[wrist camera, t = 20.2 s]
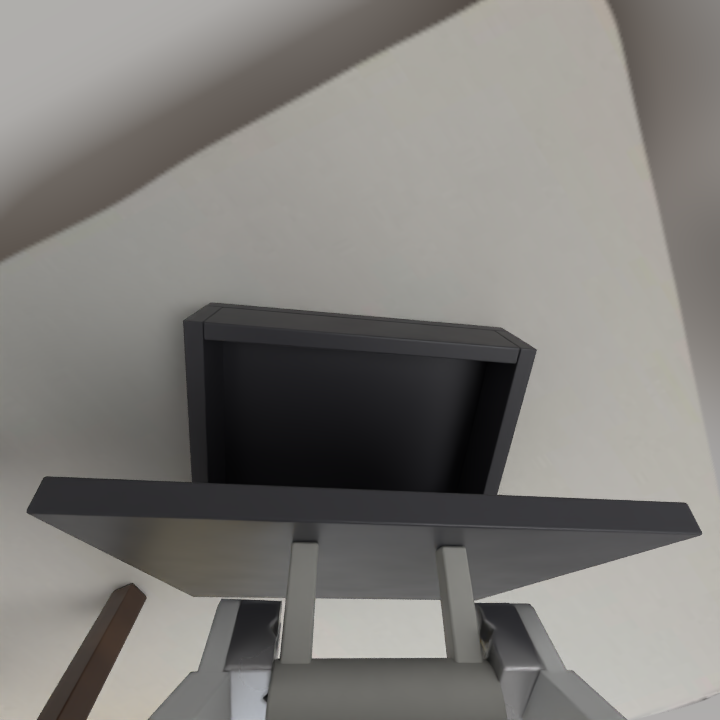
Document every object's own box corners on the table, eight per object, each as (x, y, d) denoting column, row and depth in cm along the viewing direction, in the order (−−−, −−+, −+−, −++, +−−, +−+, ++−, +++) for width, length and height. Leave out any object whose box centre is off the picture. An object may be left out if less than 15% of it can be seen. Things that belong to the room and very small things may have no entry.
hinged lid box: (210, 302, 19) (182, 320, 16) (502, 327, 21) (537, 349, 17) (217, 527, 24) (197, 580, 21) (453, 534, 26) (472, 585, 22)
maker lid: (43, 475, 8) (-130, 806, 5) (687, 502, 10) (827, 770, 7) (196, 579, 20) (168, 698, 17) (474, 584, 22) (491, 694, 19)
